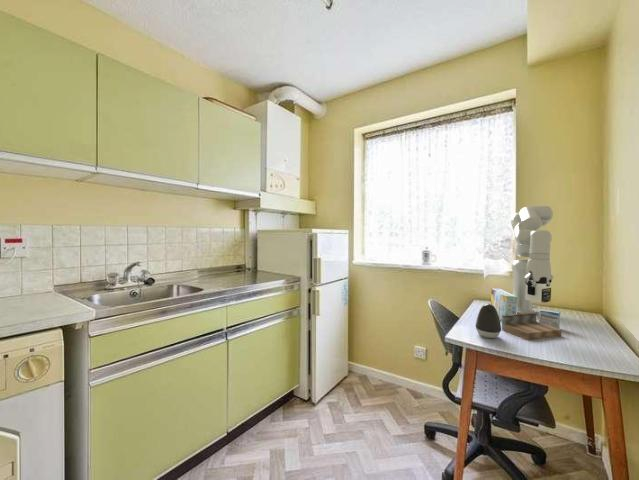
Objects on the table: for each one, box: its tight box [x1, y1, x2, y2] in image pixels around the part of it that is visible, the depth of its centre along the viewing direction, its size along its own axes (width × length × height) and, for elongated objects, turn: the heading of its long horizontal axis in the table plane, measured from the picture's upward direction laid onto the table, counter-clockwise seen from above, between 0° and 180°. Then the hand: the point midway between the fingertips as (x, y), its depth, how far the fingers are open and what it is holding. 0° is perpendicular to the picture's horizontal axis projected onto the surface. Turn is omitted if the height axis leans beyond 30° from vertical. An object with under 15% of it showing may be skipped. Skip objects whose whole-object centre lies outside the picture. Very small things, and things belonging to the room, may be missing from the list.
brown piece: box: [501, 311, 563, 341], centre depth 138 cm, size 20×14×7 cm
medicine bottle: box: [525, 277, 552, 304], centre depth 135 cm, size 7×7×12 cm
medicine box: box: [538, 308, 561, 329], centre depth 145 cm, size 8×4×9 cm, turn 47°
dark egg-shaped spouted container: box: [475, 303, 502, 339], centre depth 133 cm, size 10×10×15 cm
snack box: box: [490, 288, 517, 322], centre depth 160 cm, size 21×6×15 cm, turn 168°
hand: (538, 294), depth 135 cm, fingers closed on medicine bottle, 7 cm apart
